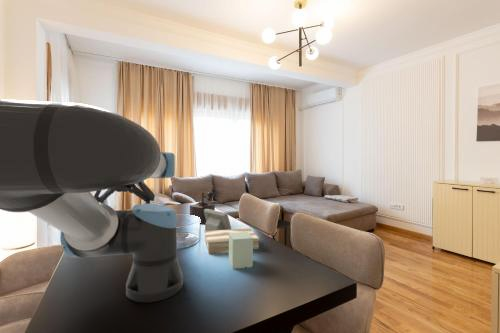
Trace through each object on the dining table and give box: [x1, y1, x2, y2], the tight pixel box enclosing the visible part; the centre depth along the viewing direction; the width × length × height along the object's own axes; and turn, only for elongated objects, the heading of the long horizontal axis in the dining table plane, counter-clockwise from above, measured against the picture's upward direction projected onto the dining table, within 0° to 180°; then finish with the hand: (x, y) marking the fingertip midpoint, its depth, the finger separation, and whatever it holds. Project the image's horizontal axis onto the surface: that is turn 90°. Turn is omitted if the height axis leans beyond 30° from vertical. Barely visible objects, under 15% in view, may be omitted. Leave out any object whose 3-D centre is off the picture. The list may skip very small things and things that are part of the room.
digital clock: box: [204, 209, 232, 232], centre depth 123 cm, size 16×9×11 cm, turn 39°
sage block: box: [228, 232, 254, 270], centre depth 87 cm, size 7×7×10 cm
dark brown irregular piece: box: [189, 191, 216, 225], centre depth 140 cm, size 16×11×18 cm
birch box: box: [204, 227, 260, 255], centre depth 105 cm, size 14×20×5 cm
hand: (127, 212), depth 95 cm, fingers open, 13 cm apart
